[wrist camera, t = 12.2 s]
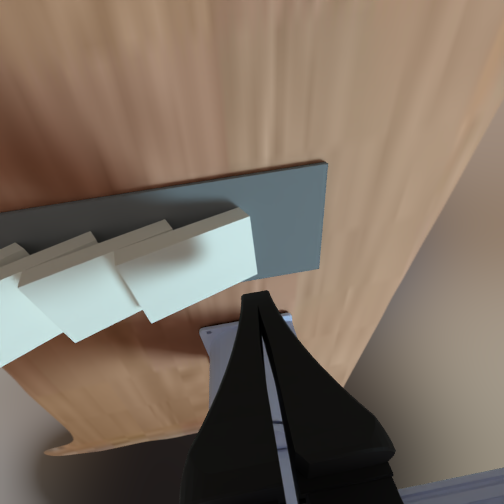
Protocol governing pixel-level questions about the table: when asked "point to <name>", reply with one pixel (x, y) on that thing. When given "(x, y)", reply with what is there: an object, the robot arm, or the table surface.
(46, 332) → the domino
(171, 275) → the domino
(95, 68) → the table surface
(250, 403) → the robot arm
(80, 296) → the domino
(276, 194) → the mat
